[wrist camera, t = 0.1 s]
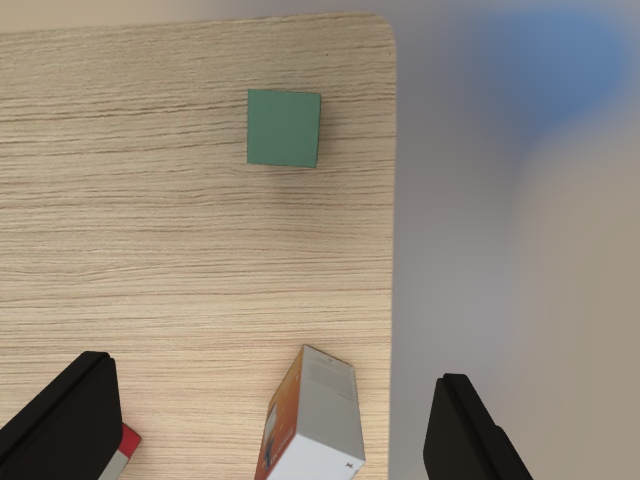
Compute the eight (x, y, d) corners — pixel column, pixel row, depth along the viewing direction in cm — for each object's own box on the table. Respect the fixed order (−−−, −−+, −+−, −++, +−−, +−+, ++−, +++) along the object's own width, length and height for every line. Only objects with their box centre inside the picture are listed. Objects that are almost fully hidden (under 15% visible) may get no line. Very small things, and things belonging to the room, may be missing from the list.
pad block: (262, 96, 28) (247, 88, 22) (321, 100, 28) (320, 94, 22) (261, 156, 29) (246, 163, 24) (317, 160, 29) (316, 167, 24)
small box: (304, 342, 34) (296, 430, 24) (355, 366, 35) (368, 461, 25) (267, 403, 37) (246, 507, 26) (316, 424, 37) (313, 534, 27)
